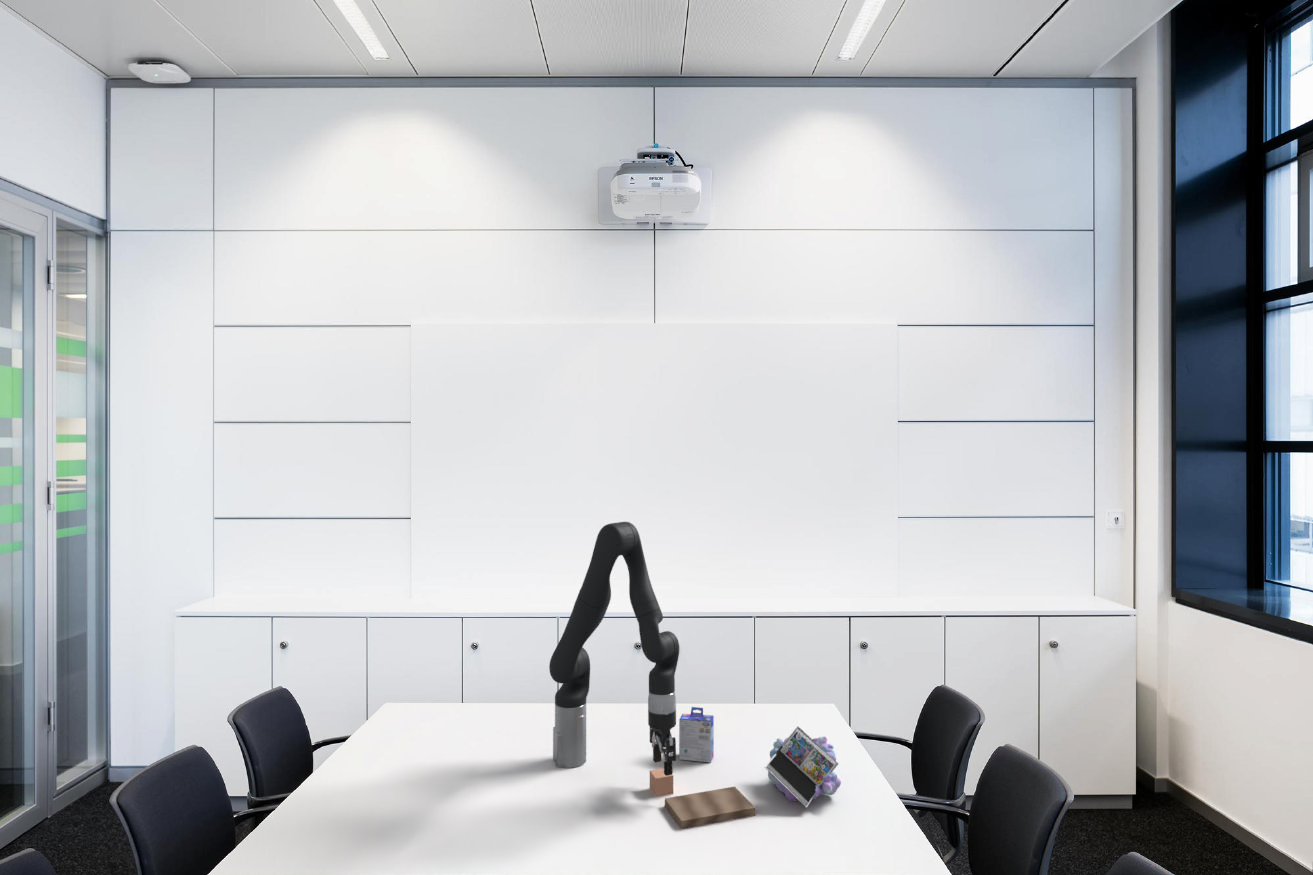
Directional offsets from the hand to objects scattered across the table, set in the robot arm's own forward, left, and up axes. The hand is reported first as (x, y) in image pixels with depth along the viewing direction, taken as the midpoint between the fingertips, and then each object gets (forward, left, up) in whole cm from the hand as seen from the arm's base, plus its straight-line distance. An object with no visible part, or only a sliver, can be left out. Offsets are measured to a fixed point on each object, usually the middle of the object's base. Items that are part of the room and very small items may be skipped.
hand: (662, 768), depth 201 cm
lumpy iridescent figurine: (+36, -13, -7) cm, 39 cm away
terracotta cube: (0, 0, -6) cm, 6 cm away
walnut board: (+8, -14, -6) cm, 17 cm away
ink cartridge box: (+17, +16, -7) cm, 24 cm away
